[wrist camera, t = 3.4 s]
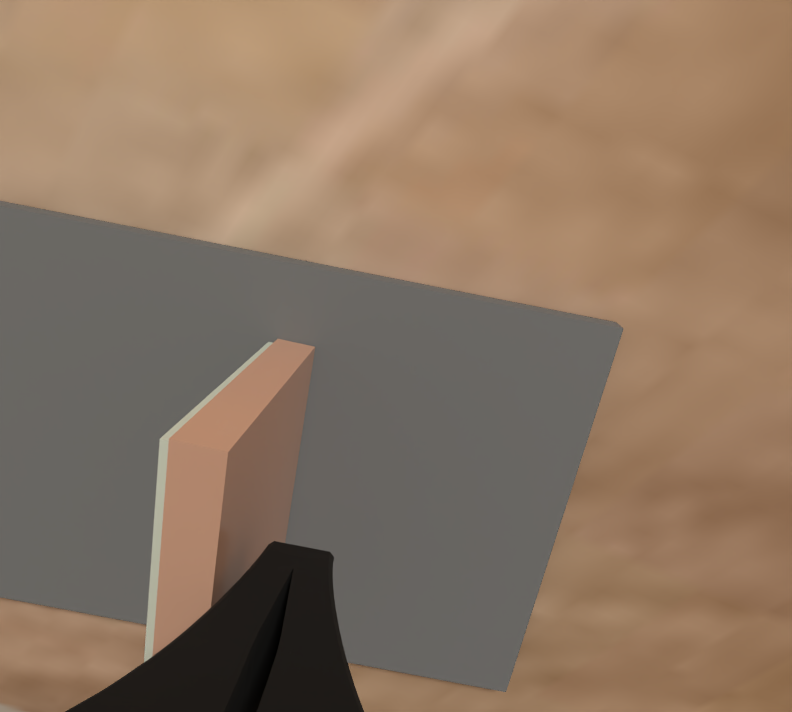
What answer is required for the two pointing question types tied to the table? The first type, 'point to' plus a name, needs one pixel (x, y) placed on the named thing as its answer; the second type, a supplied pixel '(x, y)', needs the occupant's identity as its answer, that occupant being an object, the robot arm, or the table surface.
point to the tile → (225, 486)
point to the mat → (321, 436)
